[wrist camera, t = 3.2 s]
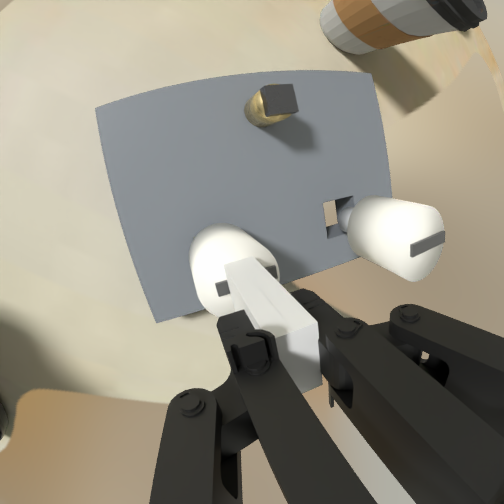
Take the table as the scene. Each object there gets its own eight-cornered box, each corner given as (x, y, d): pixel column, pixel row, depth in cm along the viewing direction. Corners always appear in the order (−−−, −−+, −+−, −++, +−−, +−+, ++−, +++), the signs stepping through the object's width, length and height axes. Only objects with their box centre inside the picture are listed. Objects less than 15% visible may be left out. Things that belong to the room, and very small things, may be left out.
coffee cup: (336, -10, 18) (430, -69, 4) (387, 45, 21) (495, 13, 8) (291, 17, 18) (395, -68, 5) (351, 78, 22) (483, 41, 8)
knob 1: (194, 278, 22) (209, 332, 14) (179, 225, 20) (185, 255, 13) (248, 263, 22) (286, 306, 15) (236, 209, 21) (273, 230, 14)
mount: (157, 305, 22) (156, 323, 20) (104, 116, 17) (95, 108, 14) (375, 236, 27) (394, 243, 24) (351, 80, 22) (371, 73, 19)
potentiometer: (248, 129, 18) (266, 120, 14) (240, 97, 17) (257, 81, 13) (280, 124, 18) (304, 115, 15) (273, 93, 17) (296, 78, 14)
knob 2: (328, 253, 21) (399, 293, 14) (320, 197, 19) (399, 215, 12) (371, 239, 22) (444, 268, 14) (367, 186, 20) (446, 200, 13)
